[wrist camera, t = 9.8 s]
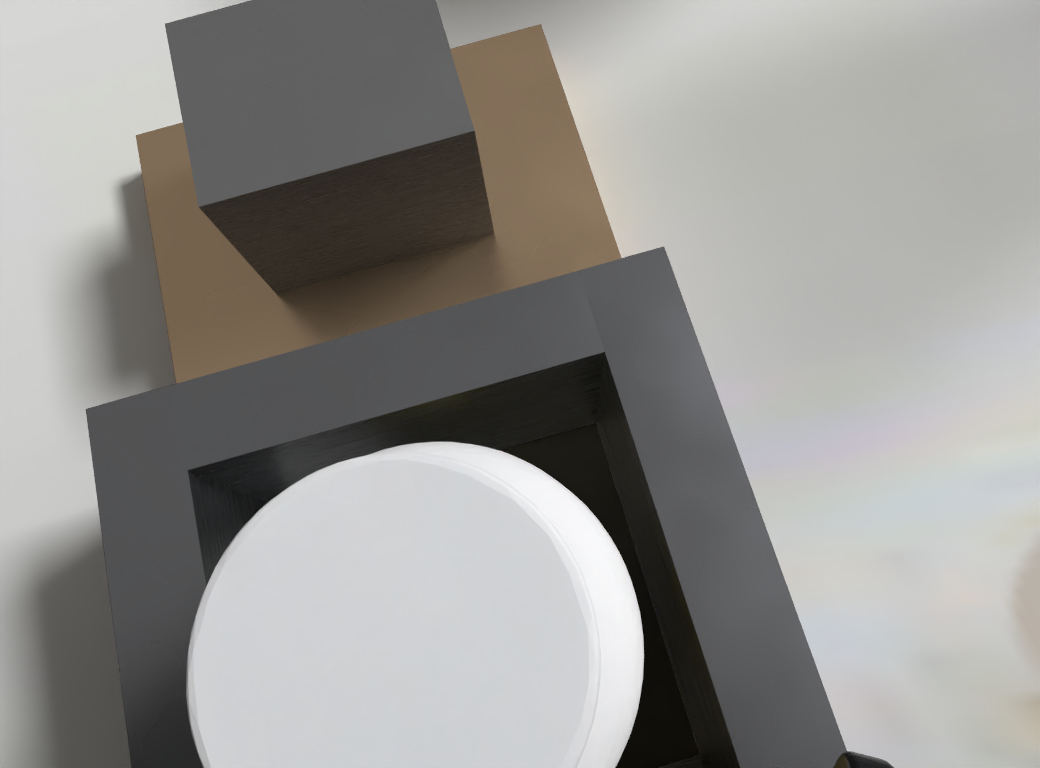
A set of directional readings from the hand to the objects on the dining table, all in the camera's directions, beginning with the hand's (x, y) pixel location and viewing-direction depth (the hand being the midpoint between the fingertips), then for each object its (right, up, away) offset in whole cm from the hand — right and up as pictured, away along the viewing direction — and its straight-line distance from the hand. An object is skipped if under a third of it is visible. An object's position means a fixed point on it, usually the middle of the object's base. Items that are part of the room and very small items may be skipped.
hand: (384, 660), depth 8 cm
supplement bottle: (+1, -3, +9) cm, 9 cm away
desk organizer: (0, +1, +10) cm, 10 cm away
